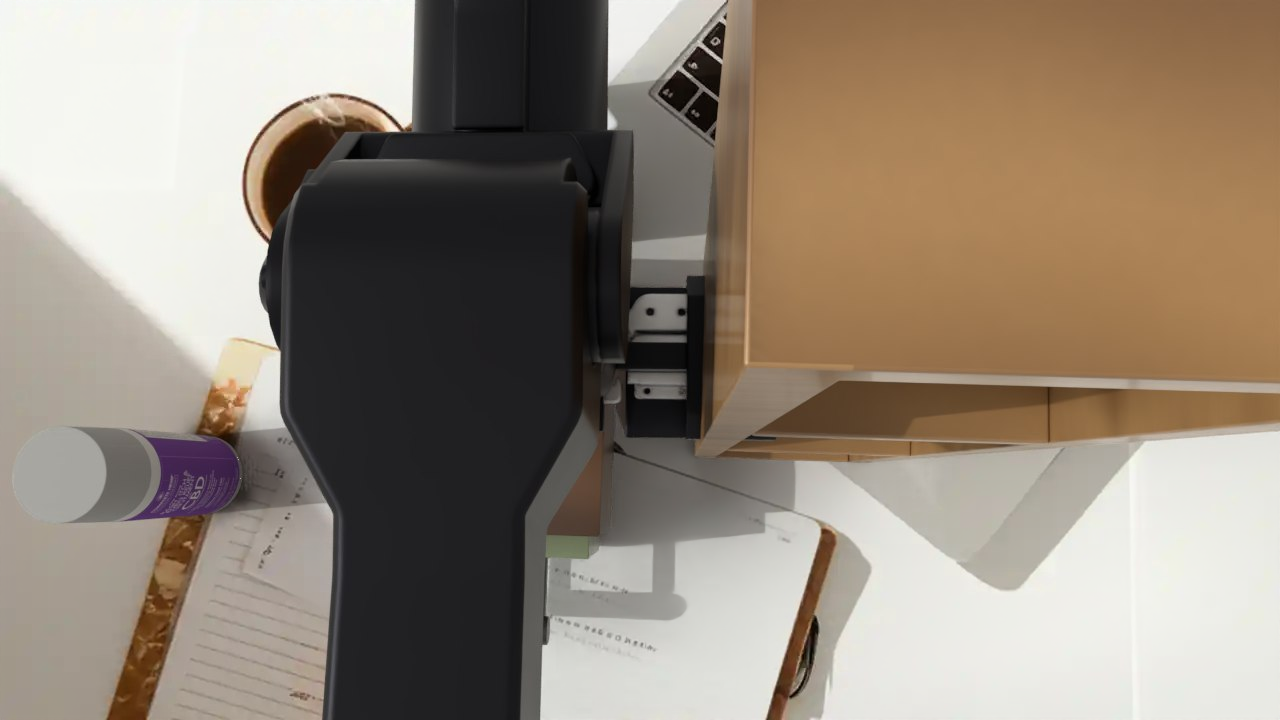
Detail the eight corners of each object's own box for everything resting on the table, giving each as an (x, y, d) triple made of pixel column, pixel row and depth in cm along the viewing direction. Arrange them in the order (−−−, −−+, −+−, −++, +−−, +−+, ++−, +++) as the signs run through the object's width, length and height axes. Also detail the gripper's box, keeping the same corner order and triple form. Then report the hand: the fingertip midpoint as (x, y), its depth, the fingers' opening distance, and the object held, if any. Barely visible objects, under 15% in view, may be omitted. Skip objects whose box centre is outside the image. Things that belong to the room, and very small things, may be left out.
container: (241, 515, 64) (106, 527, 49) (163, 514, 64) (5, 526, 49) (245, 435, 64) (113, 423, 49) (168, 435, 64) (12, 422, 49)
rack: (866, 462, 62) (1740, 396, 11) (694, 457, 63) (743, 367, 11) (867, 326, 63) (1685, -339, 12) (697, 321, 64) (760, -340, 12)
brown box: (611, 528, 63) (599, 536, 54) (397, 521, 63) (352, 528, 55) (620, 281, 64) (610, 251, 56) (410, 276, 65) (369, 245, 56)
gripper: (814, 88, 35) (764, 204, 50) (237, 86, 35) (365, 201, 50) (816, 436, 34) (765, 444, 49) (221, 430, 34) (357, 440, 49)
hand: (562, 375), depth 50 cm, fingers open, 5 cm apart
